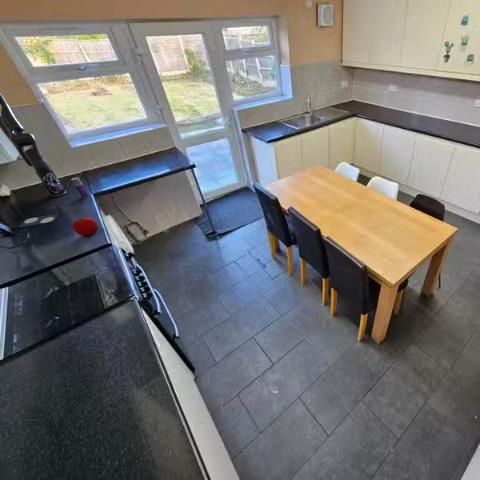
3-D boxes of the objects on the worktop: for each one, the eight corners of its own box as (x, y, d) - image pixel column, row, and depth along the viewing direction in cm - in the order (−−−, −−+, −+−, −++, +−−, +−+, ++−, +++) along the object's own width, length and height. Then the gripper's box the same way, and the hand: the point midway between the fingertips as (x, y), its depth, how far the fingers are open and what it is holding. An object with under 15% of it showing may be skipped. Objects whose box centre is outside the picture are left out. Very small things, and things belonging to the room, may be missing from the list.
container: (85, 198, 205) (74, 180, 196) (80, 197, 206) (69, 179, 197) (91, 195, 209) (80, 177, 200) (86, 195, 210) (75, 177, 201)
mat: (25, 219, 182) (25, 219, 182) (59, 213, 188) (59, 213, 188) (18, 228, 174) (17, 227, 174) (53, 221, 180) (53, 221, 179)
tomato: (76, 240, 162) (65, 225, 155) (81, 230, 171) (71, 215, 164) (99, 236, 166) (90, 220, 159) (103, 226, 174) (94, 211, 167)
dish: (53, 188, 188) (49, 183, 186) (64, 187, 190) (60, 182, 188) (50, 192, 184) (46, 187, 181) (61, 191, 186) (57, 185, 183)
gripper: (38, 162, 180) (53, 185, 190) (29, 170, 170) (46, 194, 180) (51, 160, 182) (66, 183, 193) (43, 168, 172) (59, 192, 182)
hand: (56, 188), depth 186 cm, fingers closed on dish, 6 cm apart
